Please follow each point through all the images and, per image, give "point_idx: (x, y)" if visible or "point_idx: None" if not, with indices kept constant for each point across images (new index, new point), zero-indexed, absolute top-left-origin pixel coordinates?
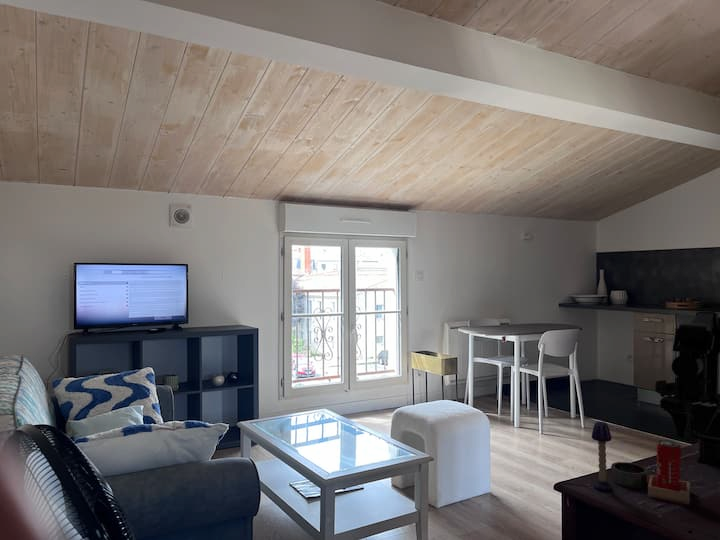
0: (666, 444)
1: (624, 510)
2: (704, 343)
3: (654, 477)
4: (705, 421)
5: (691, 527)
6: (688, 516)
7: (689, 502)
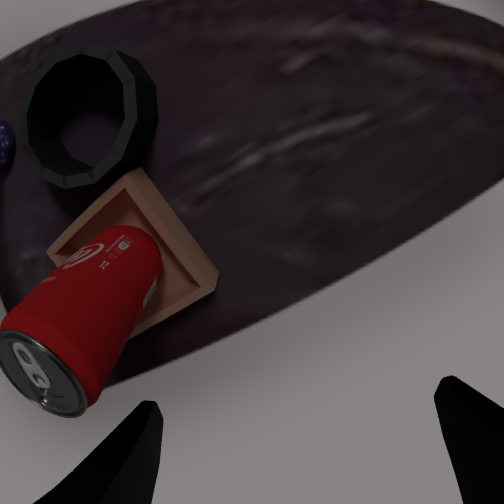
0: (15, 379)
1: None
2: None
3: (130, 191)
4: (470, 464)
5: None
6: None
7: None
